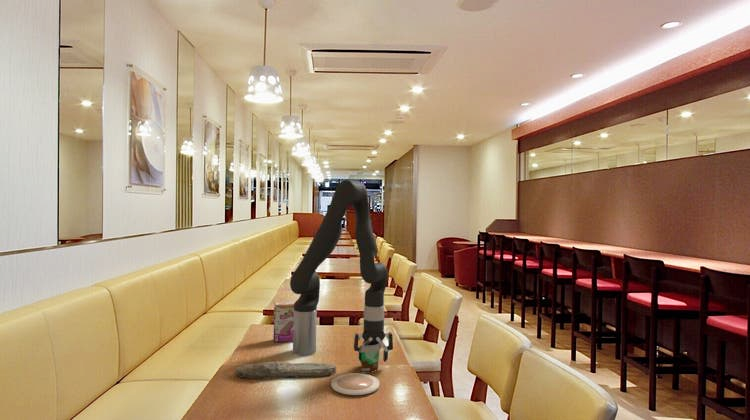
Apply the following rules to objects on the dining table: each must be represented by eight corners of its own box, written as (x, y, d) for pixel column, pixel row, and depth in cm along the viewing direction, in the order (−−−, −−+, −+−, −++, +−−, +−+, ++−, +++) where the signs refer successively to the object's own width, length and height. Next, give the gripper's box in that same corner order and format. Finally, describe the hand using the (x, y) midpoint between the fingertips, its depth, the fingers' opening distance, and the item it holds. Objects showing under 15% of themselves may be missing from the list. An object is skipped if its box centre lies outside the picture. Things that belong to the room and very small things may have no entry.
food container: (377, 375, 157) (378, 347, 156) (360, 374, 158) (361, 346, 158) (383, 363, 169) (384, 337, 169) (367, 362, 170) (368, 336, 170)
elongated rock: (336, 382, 154) (334, 373, 164) (337, 367, 154) (336, 358, 164) (232, 380, 149) (237, 371, 159) (233, 364, 149) (238, 356, 159)
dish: (332, 398, 138) (332, 393, 138) (329, 377, 154) (329, 373, 154) (383, 395, 140) (383, 390, 140) (375, 376, 156) (375, 371, 156)
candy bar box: (273, 343, 191) (274, 305, 191) (273, 339, 196) (273, 302, 196) (299, 341, 194) (300, 304, 194) (298, 338, 199) (299, 301, 199)
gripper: (391, 314, 168) (390, 357, 168) (353, 315, 166) (352, 358, 166) (394, 319, 160) (394, 364, 160) (355, 320, 158) (354, 366, 158)
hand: (373, 361), depth 163 cm, fingers open, 8 cm apart
